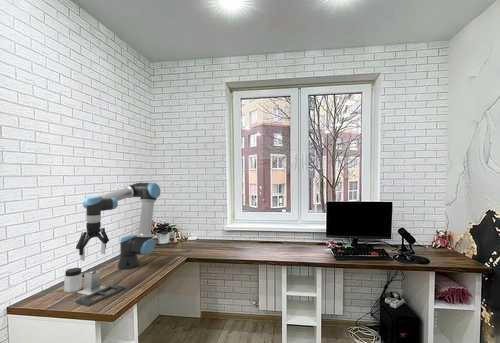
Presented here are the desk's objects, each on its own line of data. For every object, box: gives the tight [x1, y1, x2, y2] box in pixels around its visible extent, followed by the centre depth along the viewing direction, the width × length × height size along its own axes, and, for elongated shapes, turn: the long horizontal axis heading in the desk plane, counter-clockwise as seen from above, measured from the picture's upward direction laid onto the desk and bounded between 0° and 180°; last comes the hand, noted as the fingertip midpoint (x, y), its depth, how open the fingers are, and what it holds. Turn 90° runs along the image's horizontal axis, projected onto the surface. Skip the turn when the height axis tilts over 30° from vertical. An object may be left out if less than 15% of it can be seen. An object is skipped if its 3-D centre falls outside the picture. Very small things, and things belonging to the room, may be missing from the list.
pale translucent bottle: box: [83, 269, 101, 292], centre depth 161 cm, size 6×6×11 cm
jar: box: [63, 267, 83, 294], centre depth 161 cm, size 9×8×12 cm
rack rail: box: [75, 284, 126, 307], centre depth 153 cm, size 24×10×1 cm, turn 158°
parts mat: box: [76, 285, 107, 296], centre depth 160 cm, size 12×10×1 cm
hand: (93, 257), depth 161 cm, fingers open, 13 cm apart
